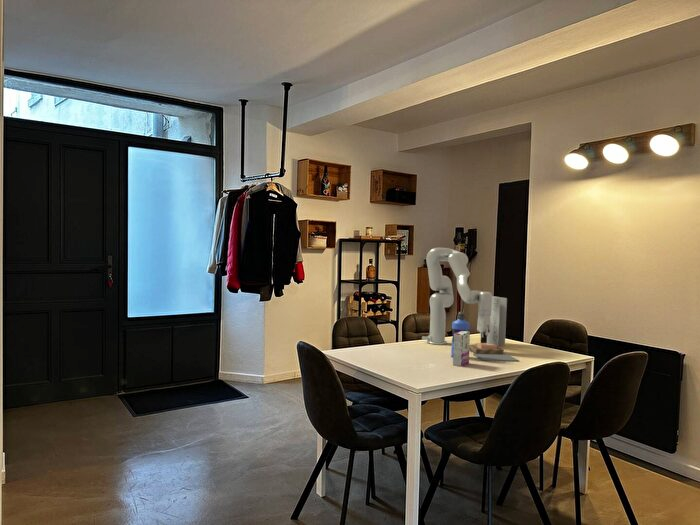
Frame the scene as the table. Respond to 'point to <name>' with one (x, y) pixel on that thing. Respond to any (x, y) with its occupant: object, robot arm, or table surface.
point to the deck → (485, 350)
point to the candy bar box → (461, 348)
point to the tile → (486, 345)
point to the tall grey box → (498, 321)
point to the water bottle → (459, 327)
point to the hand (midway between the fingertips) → (483, 344)
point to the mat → (495, 357)
